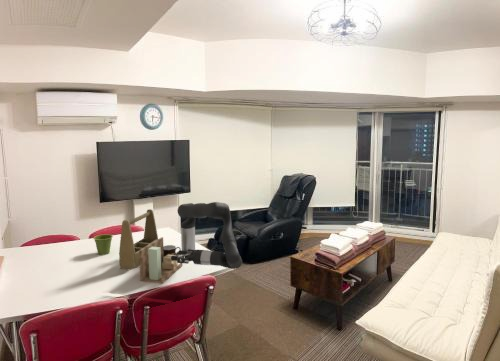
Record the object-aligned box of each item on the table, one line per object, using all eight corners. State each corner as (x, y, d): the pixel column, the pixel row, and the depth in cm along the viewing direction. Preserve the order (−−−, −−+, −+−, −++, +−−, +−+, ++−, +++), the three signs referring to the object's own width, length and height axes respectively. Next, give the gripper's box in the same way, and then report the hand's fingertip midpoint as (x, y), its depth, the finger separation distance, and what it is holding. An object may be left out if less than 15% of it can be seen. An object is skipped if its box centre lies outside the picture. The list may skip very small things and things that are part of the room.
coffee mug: (162, 266, 195) (161, 250, 194) (162, 261, 203) (161, 245, 202) (181, 264, 198) (181, 248, 197) (180, 259, 206) (180, 244, 205)
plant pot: (100, 257, 209) (99, 240, 207) (91, 253, 216) (89, 237, 214) (117, 252, 218) (116, 236, 217) (107, 248, 225) (106, 233, 224)
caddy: (135, 270, 189) (133, 220, 185) (119, 268, 191) (116, 219, 187) (159, 253, 217) (157, 209, 214) (144, 251, 220) (142, 208, 216)
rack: (162, 265, 195) (161, 237, 193) (182, 267, 193) (181, 238, 190) (140, 283, 172) (139, 250, 170) (162, 285, 169) (161, 252, 167)
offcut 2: (166, 264, 194) (166, 259, 194) (177, 265, 193) (177, 259, 193) (162, 268, 189) (162, 262, 188) (173, 269, 188) (173, 263, 187)
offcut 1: (168, 259, 194) (168, 254, 193) (176, 260, 192) (176, 255, 191) (163, 262, 189) (163, 257, 189) (171, 263, 187) (171, 258, 187)
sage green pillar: (153, 276, 178) (152, 246, 176) (161, 277, 177) (160, 247, 175) (149, 279, 174) (148, 249, 172) (157, 280, 173) (156, 249, 171)
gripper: (208, 246, 174) (180, 244, 177) (198, 255, 160) (168, 252, 164) (208, 259, 175) (181, 257, 178) (198, 269, 161) (169, 267, 165)
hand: (175, 255), depth 171 cm, fingers open, 8 cm apart
